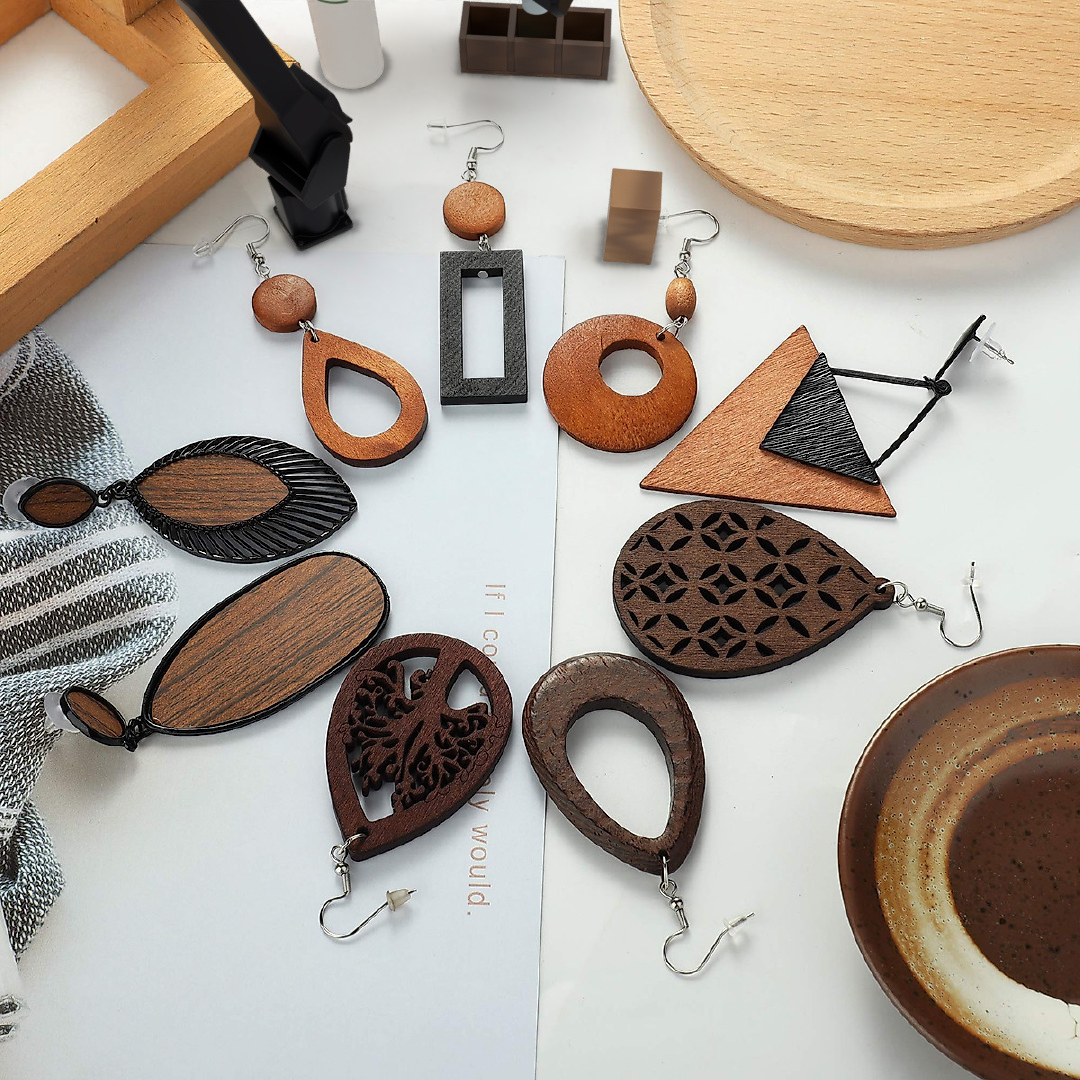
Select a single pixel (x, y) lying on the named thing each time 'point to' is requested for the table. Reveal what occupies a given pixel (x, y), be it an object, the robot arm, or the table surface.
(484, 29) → the box
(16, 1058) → the table surface
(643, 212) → the tube stand
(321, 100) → the robot arm
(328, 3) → the cylindrical container
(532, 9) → the test tube
